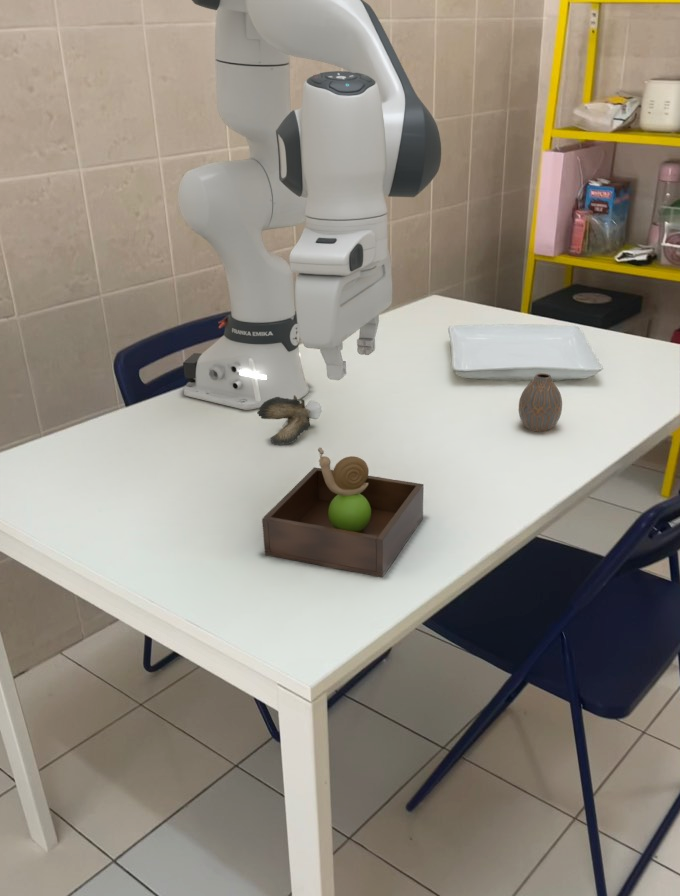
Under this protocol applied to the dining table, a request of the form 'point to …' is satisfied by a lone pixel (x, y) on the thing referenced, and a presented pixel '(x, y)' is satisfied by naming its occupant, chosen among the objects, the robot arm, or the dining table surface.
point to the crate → (317, 542)
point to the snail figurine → (347, 492)
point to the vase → (540, 404)
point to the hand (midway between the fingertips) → (352, 365)
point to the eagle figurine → (290, 417)
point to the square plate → (521, 352)
